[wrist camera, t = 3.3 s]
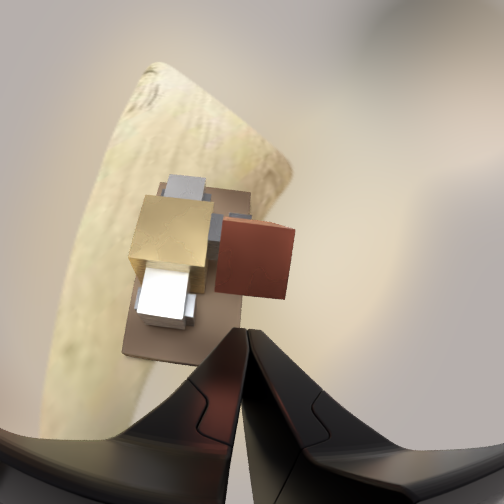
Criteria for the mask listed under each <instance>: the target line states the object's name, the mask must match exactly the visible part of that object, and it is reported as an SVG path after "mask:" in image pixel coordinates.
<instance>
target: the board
mask: <svg viewBox="0 0 504 504" xmlns="http://www.w3.org/2000/svg"><path fill="white" fill-rule="evenodd" d="M166 185H167V183H164V182H160V185H159V188H158V192H157V195H156V196H161V193H162V189H166ZM205 193H208V194H211V202H214V211H213V213H215V214H224V216H226V217H229V212H231V213H239V214H247V215H249V208H250V196H251V193H250V192H243V191H235V190H227V189H219V188H211V187H206V191H205ZM224 216H223V218H224ZM217 263H218V261H217V260H209V261H208V269H207V276H206V284H205V292H204V294H201V293H193V292H190V294H193V295H196V303H197V309H196V317H195V325H194V327H193V326H185V330H182V329H175V328H168V327H161V326H154V325H148V324H145V323H144V322H143V320H142V319H141V318H140V316H139V315H138V313H137V312H136V310H135V309H134V307H135V302H136V297H137V292H138V287H142V286H141V284H140V282H139V279H138V277H137V275H136V278H135V283H134V287H133V292H132V297H131V302H130V307H129V312H128V318H127V323H126V329H125V334H124V340H123V347H122V353H123V354H124V355H126V356H132V357H137V358H143V359H149V360H155V361H161V362H168V363H175V364H182V365H189V366H197V367H198V366H199V365H200V364H201V362H202V361H203V360H204V359H205V358H206V357H207V356H208V355H209V354H210V352H211V351H212V350H213V349H214V348H215V347H216V346H217V345H218V343H219V342H220V341H221V340H222V339H223V338H224V337H225V336H226V334H227V333H228V332H229V331H230V330H231V329H232V328H233V327H237V328H240V319H241V307H242V295H235V294H226V293H217V292H214V289H215V280H216V272H217Z"/></svg>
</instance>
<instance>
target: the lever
mask: <svg viewBox="0 0 504 504" xmlns="http://www.w3.org/2000/svg"><path fill="white" fill-rule="evenodd" d="M251 218H252V215H247V214H239V213H231V212H229V217H226V216H224V218H223V222H222V230H221V238H220V246H219V254H218V263H217V272H216V280H215V289H214V292H217V293H226V294H235V295H244V296H253V297H264V298H272V299H283V300H285V296H286V290H287V283H288V277H289V270H290V264H291V256H292V250H293V243H294V236H295V229H292V228H289V227H285V226H282V225H279V224H275V223H272V222H265V221H258V220H251Z"/></svg>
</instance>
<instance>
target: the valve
mask: <svg viewBox="0 0 504 504" xmlns="http://www.w3.org/2000/svg"><path fill="white" fill-rule="evenodd" d="M205 191H206V178H201V177H192V176H182V175H172V174H170V175H169V178H168V182H167V185H166V189H162V193H161V196H153V195H145V198H144V201H143V205H142V208H141V211H140V215H139V218H138V222H137V225H136V229H135V233H134V236H133V240H132V244H131V247H130V251H129V255H128V258H129V260H130V262H131V265H132V267H133V269H134V271H135V273H136V275H137V277H138V279H139V282H140V284H141V286H142V287H138V292H137V297H136V302H135V307H134V309H135V310H136V312H137V313H138V315H139V316H140V318H141V319H142V320H143V322H144V323H145V324H148V325H154V326H161V327H168V328H175V329H182V330H185V326H193V327H194V325H195V317H196V309H197V303H196V295H193V294H190V292H193V293H201V294H204V292H205V284H206V276H207V269H208V261H209V260H217V261H218V254H219V246H220V238H221V230H222V222H223V216H224V214H215V213H213V211H214V202H211V194H208V193H205Z"/></svg>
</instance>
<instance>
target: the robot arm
mask: <svg viewBox="0 0 504 504" xmlns="http://www.w3.org/2000/svg"><path fill="white" fill-rule="evenodd" d="M240 406H242V415H243V423H244V432H245V440H246V447H247V456H248V463H249V471H250V479H251V486H252V493H253V500H254V504H504V443H503V444H499V445H494V446H488V447H481V448H471V449H456V450H427V451H416V450H410V449H406V448H402V447H400V446H398V445H396V444H394V443H393V442H391V441H389V440H388V439H386V438H385V437H384V436H382V435H380V434H379V433H378V432H376V431H375V430H373V429H372V428H371V427H369V426H368V425H366V424H365V423H363V422H362V421H361V420H359V419H358V418H357V417H355V416H354V415H353V414H351V413H350V412H349V411H347V410H346V409H345V408H344V407H342V406H341V405H340V404H339V403H338V402H336V401H335V400H334V399H333V398H332V397H331V396H330V395H329V394H328V393H326V392H325V391H323V389H322V388H321V387H320V386H319V385H318V384H317V383H316V382H315V381H313V380H312V379H311V378H310V377H309V376H308V375H307V374H306V373H305V372H304V371H303V370H302V369H301V368H300V367H299V366H298V365H297V364H296V363H294V362H293V361H292V360H291V359H290V358H289V357H288V356H287V355H286V354H285V353H284V352H283V351H282V350H281V349H280V348H279V347H278V346H277V345H276V344H275V343H274V342H273V341H272V340H271V339H270V338H269V337H268V336H267V335H266V334H265V333H264V332H262V331H261V330H255V329H248V330H246V329H245V328H237V327H233V328H232V329H231V330H230V331H229V332H228V333H227V334H226V336H225V337H224V338H223V339H222V340H221V341H220V342H219V343H218V345H217V346H216V347H215V348H214V349H213V350H212V351H211V352H210V354H209V355H208V356H207V357H206V358H205V359H204V360H203V361H202V362H201V364H200V365H199V366H198V367H197V368H196V369H195V370H194V371H193V372H192V373H191V375H190V376H189V377H188V378H187V380H185V381H184V382H183V383H182V384H181V385H180V386H179V388H177V389H176V390H175V392H173V394H171V395H170V396H169V397H168V398H167V399H166V400H165V401H163V402H162V403H161V404H160V405H159V406H157V407H156V408H155V409H153V410H152V411H151V412H149V413H148V414H147V415H145V416H144V417H143V418H141V419H140V420H139V421H137V422H136V423H134V424H133V425H132V426H130V427H129V428H128V429H126V430H125V431H123V432H122V433H120V434H118V435H116V436H115V437H112V438H109V439H105V440H54V439H38V438H31V437H25V436H20V435H17V434H14V433H11V432H8V431H6V430H3V429H1V428H0V504H225V500H226V493H227V485H228V477H229V469H230V463H231V457H232V451H233V446H234V440H235V434H236V429H237V424H238V418H239V412H240Z"/></svg>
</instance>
